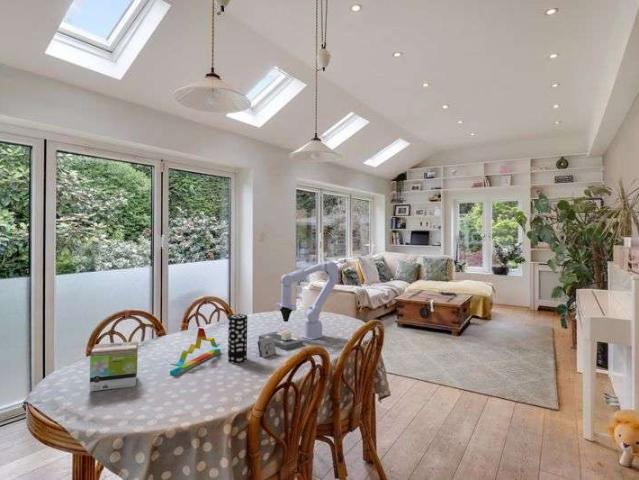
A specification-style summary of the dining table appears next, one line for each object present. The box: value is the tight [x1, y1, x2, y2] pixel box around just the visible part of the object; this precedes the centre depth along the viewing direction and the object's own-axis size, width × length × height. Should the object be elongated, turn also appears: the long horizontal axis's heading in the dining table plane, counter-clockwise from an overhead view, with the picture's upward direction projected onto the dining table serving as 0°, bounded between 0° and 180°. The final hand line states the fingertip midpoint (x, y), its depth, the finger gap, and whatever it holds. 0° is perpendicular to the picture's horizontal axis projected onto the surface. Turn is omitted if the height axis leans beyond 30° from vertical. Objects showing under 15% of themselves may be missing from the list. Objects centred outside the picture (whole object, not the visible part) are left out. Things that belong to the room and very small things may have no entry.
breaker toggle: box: [280, 330, 292, 340], centre depth 191 cm, size 4×3×4 cm
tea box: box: [89, 340, 139, 393], centre depth 139 cm, size 15×10×15 cm, turn 114°
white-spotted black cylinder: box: [227, 313, 248, 364], centre depth 167 cm, size 8×8×20 cm
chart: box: [169, 327, 222, 377], centre depth 163 cm, size 30×3×15 cm, turn 160°
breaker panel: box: [258, 331, 304, 351], centre depth 194 cm, size 12×22×3 cm, turn 46°
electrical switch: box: [257, 336, 277, 358], centre depth 175 cm, size 8×5×8 cm, turn 141°
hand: (285, 321), depth 201 cm, fingers closed
